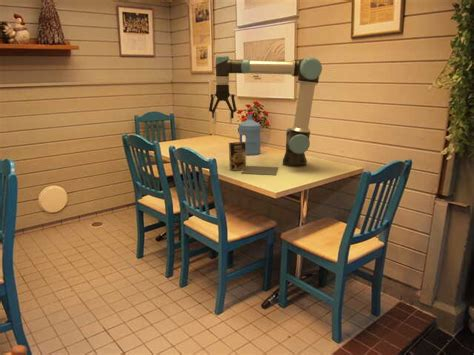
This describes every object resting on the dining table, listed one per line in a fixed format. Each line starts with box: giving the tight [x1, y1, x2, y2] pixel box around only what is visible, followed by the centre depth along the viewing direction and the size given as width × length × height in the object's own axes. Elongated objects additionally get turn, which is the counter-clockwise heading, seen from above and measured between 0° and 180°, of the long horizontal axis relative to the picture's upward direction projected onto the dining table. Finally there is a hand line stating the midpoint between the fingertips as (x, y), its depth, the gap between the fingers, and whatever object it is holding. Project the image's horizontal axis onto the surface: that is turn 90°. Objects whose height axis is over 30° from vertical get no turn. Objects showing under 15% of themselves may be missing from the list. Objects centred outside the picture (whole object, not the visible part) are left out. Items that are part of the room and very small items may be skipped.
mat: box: [241, 165, 279, 176], centre depth 227 cm, size 20×18×1 cm
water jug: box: [238, 113, 262, 156], centre depth 271 cm, size 16×16×28 cm
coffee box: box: [228, 141, 247, 172], centre depth 227 cm, size 9×6×16 cm
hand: (222, 123), depth 224 cm, fingers open, 9 cm apart
